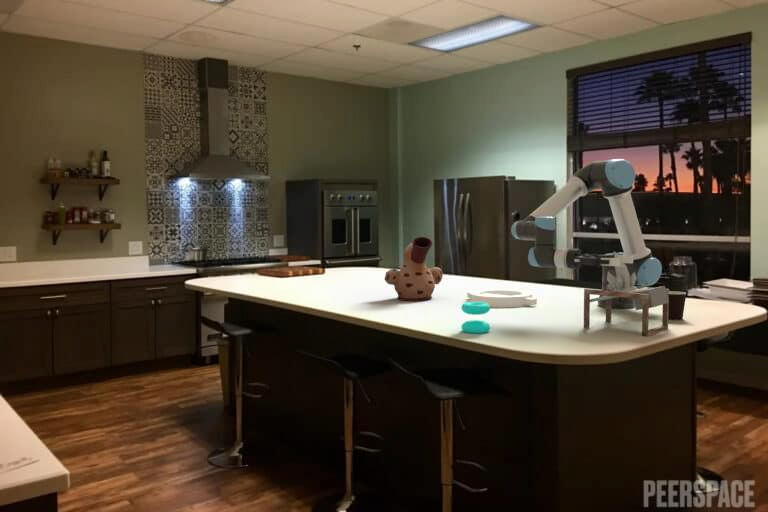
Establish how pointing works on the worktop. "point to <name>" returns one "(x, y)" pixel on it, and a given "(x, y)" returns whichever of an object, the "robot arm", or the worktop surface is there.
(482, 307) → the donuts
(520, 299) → the white ring
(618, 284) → the crystal
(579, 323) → the worktop surface
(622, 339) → the worktop surface
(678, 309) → the coffee mug
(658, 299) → the trapdoor
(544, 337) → the worktop surface
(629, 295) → the stand
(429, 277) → the vessel
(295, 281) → the worktop surface
